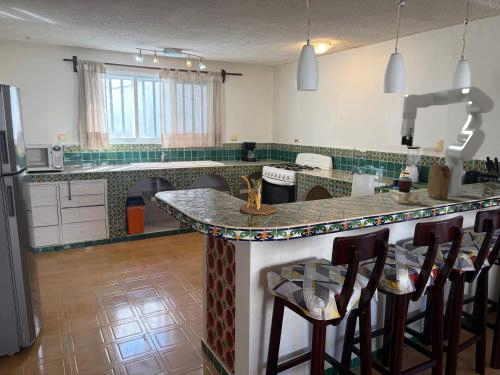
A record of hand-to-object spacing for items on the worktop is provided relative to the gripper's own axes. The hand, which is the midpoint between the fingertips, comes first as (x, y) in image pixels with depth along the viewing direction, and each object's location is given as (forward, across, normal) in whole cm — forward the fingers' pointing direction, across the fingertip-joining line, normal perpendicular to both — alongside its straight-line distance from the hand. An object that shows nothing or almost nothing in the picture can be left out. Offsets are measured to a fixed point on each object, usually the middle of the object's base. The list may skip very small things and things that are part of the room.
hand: (406, 145), depth 217 cm
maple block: (+31, +17, -5) cm, 35 cm away
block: (+31, +5, +19) cm, 36 cm away
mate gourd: (+25, +18, -5) cm, 31 cm away
